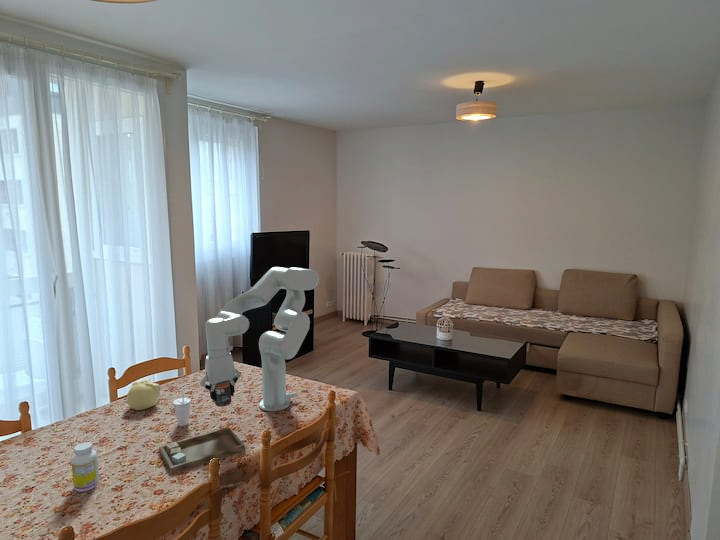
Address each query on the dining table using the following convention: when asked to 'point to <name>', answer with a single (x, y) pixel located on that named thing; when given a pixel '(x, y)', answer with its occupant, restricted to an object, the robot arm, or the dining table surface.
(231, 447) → the tray
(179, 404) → the smoothie
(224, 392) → the supplement bottle
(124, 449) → the dining table surface
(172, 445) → the block
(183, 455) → the block
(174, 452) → the block
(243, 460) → the dining table surface
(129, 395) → the pale yellow round lump
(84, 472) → the supplement bottle
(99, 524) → the dining table surface
